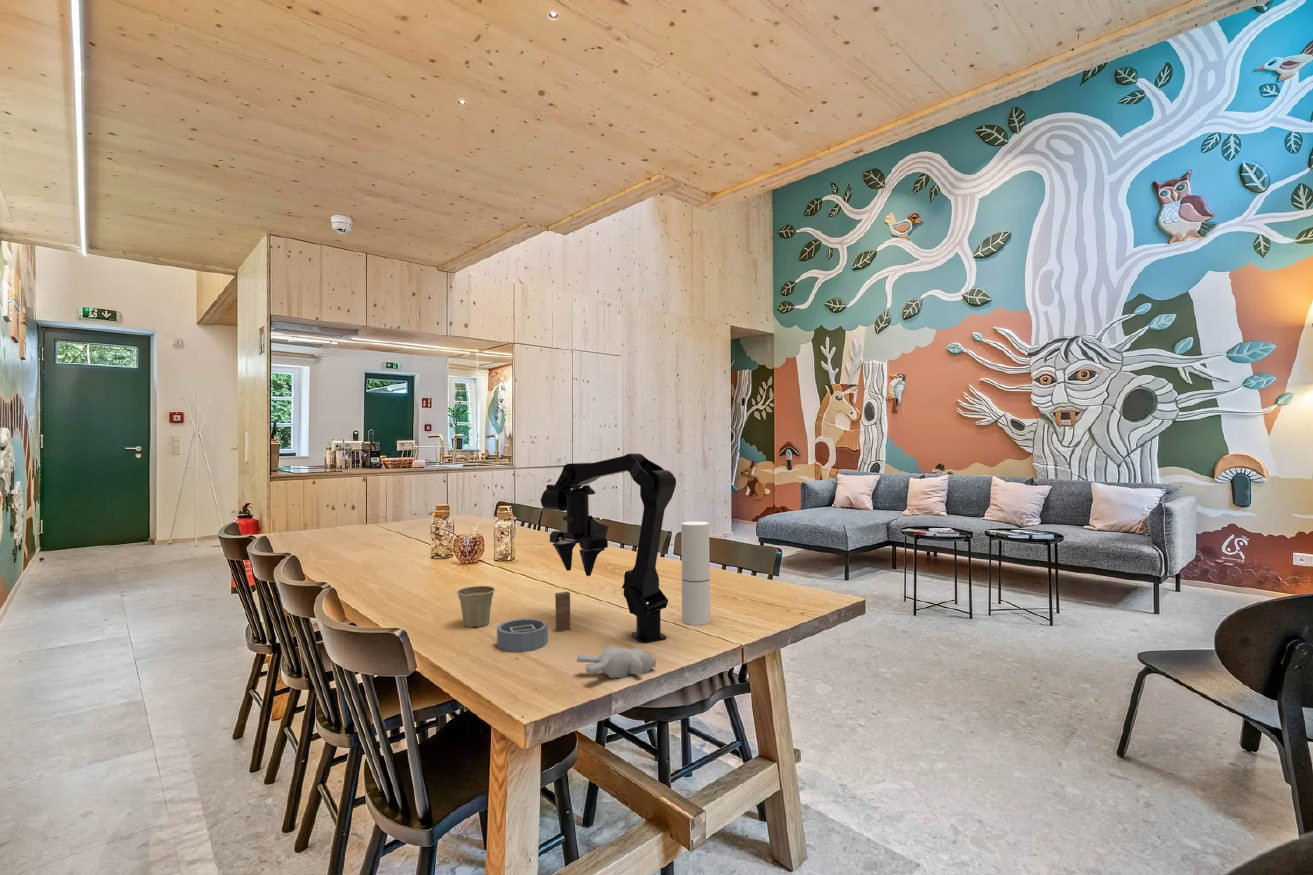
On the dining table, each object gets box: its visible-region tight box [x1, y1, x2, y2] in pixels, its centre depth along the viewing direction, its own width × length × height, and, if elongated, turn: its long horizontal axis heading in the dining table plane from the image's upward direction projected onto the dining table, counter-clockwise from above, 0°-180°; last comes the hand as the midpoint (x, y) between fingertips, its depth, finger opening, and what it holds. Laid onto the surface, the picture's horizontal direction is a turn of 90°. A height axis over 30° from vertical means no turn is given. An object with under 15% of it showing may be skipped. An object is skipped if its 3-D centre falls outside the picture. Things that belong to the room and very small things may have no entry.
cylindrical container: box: [680, 520, 711, 626], centre depth 156 cm, size 7×7×25 cm
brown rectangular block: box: [554, 591, 571, 633], centre depth 149 cm, size 2×3×9 cm, turn 113°
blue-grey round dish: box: [496, 618, 549, 653], centre depth 140 cm, size 11×11×4 cm
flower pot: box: [456, 585, 496, 628], centre depth 155 cm, size 9×9×9 cm
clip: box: [509, 624, 536, 633], centre depth 140 cm, size 4×5×2 cm
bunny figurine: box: [576, 645, 657, 679], centre depth 121 cm, size 10×5×15 cm
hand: (578, 573), depth 155 cm, fingers open, 9 cm apart
